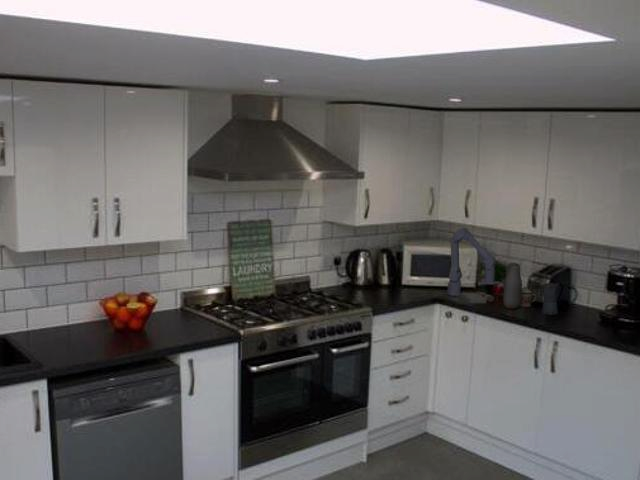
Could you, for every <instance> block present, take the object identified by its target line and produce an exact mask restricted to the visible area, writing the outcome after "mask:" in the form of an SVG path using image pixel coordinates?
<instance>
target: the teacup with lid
mask: <svg viewBox="0 0 640 480" xmlns="http://www.w3.org/2000/svg"><path fill="white" fill-rule="evenodd" d="M533 296H534V299H533V300H532V297H533ZM535 301H537V295H536V294H534V293H533V291H532V290H530V289H529V288H528V287H527V286H522V291H521V302H520V305H519V307H523V308H530V307H531V306H532V302H533V303H535Z"/></svg>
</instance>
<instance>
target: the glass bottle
mask: <svg viewBox="0 0 640 480" xmlns="http://www.w3.org/2000/svg"><path fill="white" fill-rule="evenodd" d="M506 269H507V270H506V275H505V277H504V282H503V297H502V298H503V299H502V300H503V306H504V308H506V309H511V310H515V309H517V308H519V307H520V306H519V305H520V302H521V291H522V288H523V282H522V277H521V265H520V264H519V263H517V262H510V263H508V265H507V266H506Z"/></svg>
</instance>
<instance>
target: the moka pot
mask: <svg viewBox="0 0 640 480" xmlns="http://www.w3.org/2000/svg"><path fill="white" fill-rule="evenodd" d="M552 281H553V280H549V282H548V283H543V284H541V286H540V288H541V290H542V297H543V302H542V303H543V304H542V309H541V314H543V315H545V316H547V315H548V316H555V315H558V314H559V310H558V302H557V301H558V300H559V299H561V297H562V294H563V290H564V287H565V286H564V284H563V283H562V282H559V283H552ZM559 287H561V288H560V292H559Z"/></svg>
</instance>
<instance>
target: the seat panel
mask: <svg viewBox="0 0 640 480" xmlns="http://www.w3.org/2000/svg"><path fill="white" fill-rule="evenodd" d="M460 294H461V296H460V297H461V298H462V299H464V300H465V301H466V302H469V303H470V304H486V303H487V300H486V299H485V298H484V297H482V296H480V295H479V294H477V292H460Z"/></svg>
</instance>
